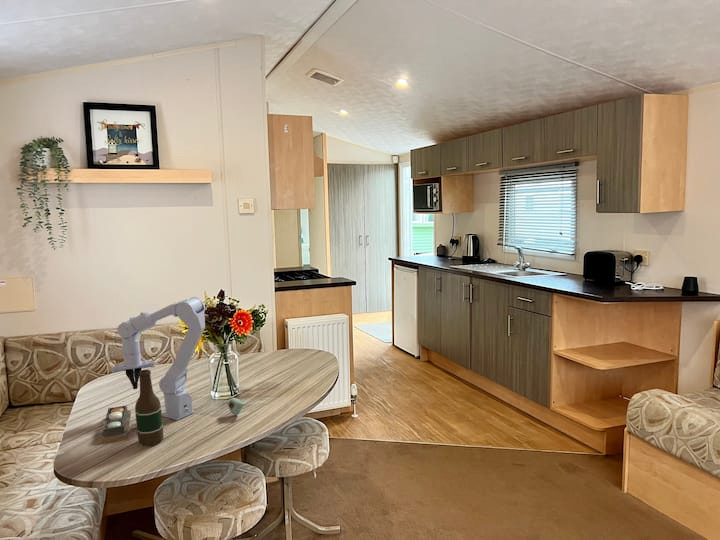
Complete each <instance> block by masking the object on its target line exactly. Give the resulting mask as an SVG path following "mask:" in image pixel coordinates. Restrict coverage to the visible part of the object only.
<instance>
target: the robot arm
mask: <svg viewBox="0 0 720 540" xmlns="http://www.w3.org/2000/svg"><path fill="white" fill-rule="evenodd" d="M205 311H206V306H205V304H204V302H203V301H202V299H201V298H199V297H198V296H197V297H196V296H193V297H190V298H189V299H187V298H186V299H183V300H179V301H177V302H173V303H171V304H169V305H167V306H165V307H163V308H161V309H159V310H157V311H155V312H150V311H145V310H143V312H140V313H139V315H137V316H135V317H134V316H132V317H130V318H129V320H126V321H123V322H121V323H120V324H119V325H118V326H117V333H118V335H119V336H120V337H121V344H122V353H123V362H124V363H122V364H117V365H112V366H111V368H110V370H111V373H113V374H115V373H118V372H124V371H125V375H126V377H127V378H128V379H129V381H130V384H131V386H132V389H133V390H137V389H138V387H139V386H138V383H139V380H140V376H139V375H138V374H139V372H140V371H142V370H143V369H147V368H151V369H152V368H155V365H156V364H155V360H149V361H148V360H147V361H142V357H141V356H142V355H141V346H140V333H142V332H144V331H146V330H148V329H151V328H153V327H155V326H156V324H157V321H158V322H159V321H160V320H163V319H165V318H167V317H169V316H173V317H175V318H179V320H180V321H181V322H182V323H183V324H184V325H185V326H186V327H187V330H186V332H185V335H184V337H183V340H182V342H181V344H180V346H179V349H178V351H177V354H176V355H175V358H174V359H173V362H172V365H171V366H170V368H169V369H168V370H167V371H166V373H165V375H164V376H163V377H162V378H160V380H159V381H158V382H159V383H158V387H159V389H160V390H161V392H162V394H163V399H164V412H161V413H162V417H165V418H168V419H171V420H175V421H178V420H179V421H180V419H183V418H185V417H187V416H189V415H192V414H194V413H195V410H193V403H192V396H191V394H190V393H188V392H187V391H186V390H185V383H186V382H187V379H188V375H187V374H188V371H189V369H188V367H189V365H190V362H191V360H192V357H193V356H194V354H195V351H196V349H197V346H198V345H199V342H200V340H201V337H202V335H203V333H204V332H205V329H206V322H205V321H206V318H205Z"/></svg>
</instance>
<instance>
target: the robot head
mask: <svg viewBox="0 0 720 540" xmlns="http://www.w3.org/2000/svg"><path fill="white" fill-rule="evenodd" d="M226 405H227V407H228V410H229V411H230V413H231V414H232V415H233V416H238V415H240V413H241V410H242V409H243V408H244V407H245V405H246V403H245V402H243V401H242V400H240V399H238V398H237V397H232V398H230V399H229V400H226Z"/></svg>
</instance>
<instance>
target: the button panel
mask: <svg viewBox="0 0 720 540" xmlns="http://www.w3.org/2000/svg"><path fill="white" fill-rule="evenodd" d="M115 408H123V409H124V411H123V412H122V419H116V420H110V421H109V414H111V410H112V409H115ZM131 416H132V412H131V410H129V409H128V405H127V404H126V405H121V406H114V407H108V408H107V413H106V415H105V419H104V422H103V423H104V424H103V427H102V428H103V429H102V432H101V436H100V444H104V443H105V444H106V443H111V442H116V441H122V440H128V438H129V437H128V436H129V430H130V425H131V424H130V423H131ZM111 422H121V426H117V427H111V428H107V425H108V424H109V423H111Z"/></svg>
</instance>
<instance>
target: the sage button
mask: <svg viewBox="0 0 720 540" xmlns="http://www.w3.org/2000/svg"><path fill="white" fill-rule="evenodd" d="M117 426H121V422H111V423H109V424H108V425H107V428H111V427H117Z"/></svg>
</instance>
